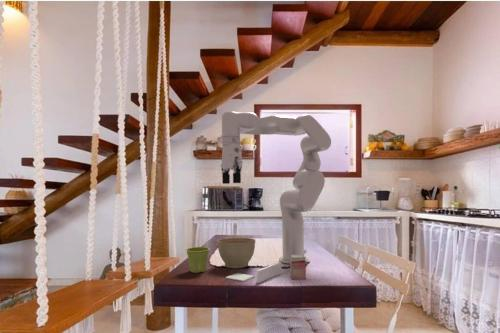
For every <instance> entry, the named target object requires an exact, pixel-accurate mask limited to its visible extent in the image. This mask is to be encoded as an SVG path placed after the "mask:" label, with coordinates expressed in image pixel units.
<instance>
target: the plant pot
mask: <svg viewBox="0 0 500 333" xmlns="http://www.w3.org/2000/svg"><path fill="white" fill-rule="evenodd" d="M210 250H211V248H210V247H207V246H206V247H205V246H196V247H195V246H193V247H188V248H186V249H185V251H186V254H187V258H188V259H187V260H188V266H189V272H191V273H193V274H195V273H196V274H198V273H201V272H202V273H205V272H206V271H207V270H206V269H207V262H208V261H207V260H208V255H209V252H210Z"/></svg>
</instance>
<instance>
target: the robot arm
mask: <svg viewBox="0 0 500 333" xmlns="http://www.w3.org/2000/svg"><path fill="white" fill-rule="evenodd" d="M241 135H252V136H253V135H260V136H261V135H265V136H266V135H271V136H272V135H281V136H295V137H296V136H301V135H302V136H303V135H306V136H303V138H302V139H301V140H300V149H301V152H302V156H303V158H302V159H303V160H302V162H301V164H300V166H299V168H298V169H297V172H296V173H295V175H294V177H293V178H292V179H293V180H292V185H293V187H294V189H289V190H285V191H284V192H283V193H282V194H281V195H280V197H279V207H280V212H281V223H282V224H281V228H282V230H281V232H282V234H281V236H282V238H281V239H282V256H281V257H279V258H278V259H279V260H278V261H279V262H281V263H282V264H289V265H290V255H304V256H305V255H306V254H307V250H306V249H305V234H304V233H305V232H304V231H305V230H304V229H305V227H304V226H305V225H304V218H303V214H302V213H307V212H310V211H311V210H312V209H313V208H314V207H315V205H316V203H317V201H318V200H319V197H320V195H321V193H322V192H323V189H324V188H325V187H324V186H325V182H326V180H325V176H324V173H322V172H321V171H320V169H321V163H322V162H321V159H320V155H319V152H326V151H328V150H329V149H330V148H331V145H332V139H331V136H330V135H329V133H328V131H326V129H325V128H324V127H323V126H322V125H321V124H320V123H319V121H318V120H317V119H315V117H313V116H312V115H311V114H308V113H304V114H301V115H297V116H289V115H280V114H279V115H278V114H275V115H269V116H265V117H259V116H258V115H257V114H256V113H255V112H237V111H225V112H223V113H222V115H221V146H222V154H221V164H220V168H221V174H222V175H221V178H222V181H221V182H222V184H224V185H225V184H228V185H229V184H230V183H231V182H230V181H231V180H230V178H231V176H230V175H231V174H230V171H231V170H232V171H233V172H232V183H233V184H240V183H241V180H242V178H241V176H242V174H241V173H242V168H243V163H244V162H243V156H242V147H241V146H242V145H241ZM308 261H309V259H308V257H306V263H308Z"/></svg>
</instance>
